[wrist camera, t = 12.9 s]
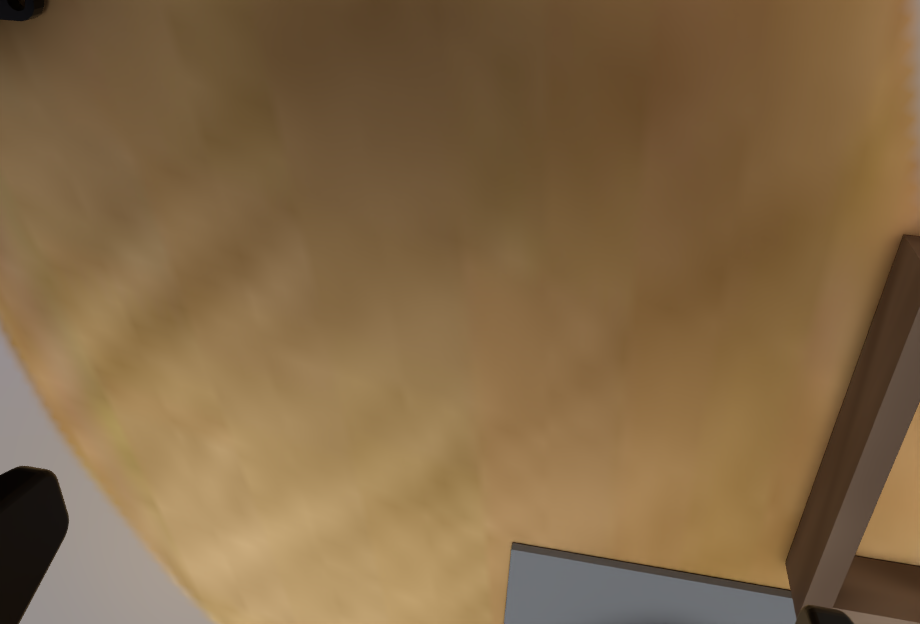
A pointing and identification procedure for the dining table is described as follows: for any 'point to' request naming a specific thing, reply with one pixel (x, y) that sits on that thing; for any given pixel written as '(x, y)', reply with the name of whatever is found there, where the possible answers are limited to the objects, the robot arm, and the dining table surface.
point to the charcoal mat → (630, 593)
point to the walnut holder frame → (865, 467)
